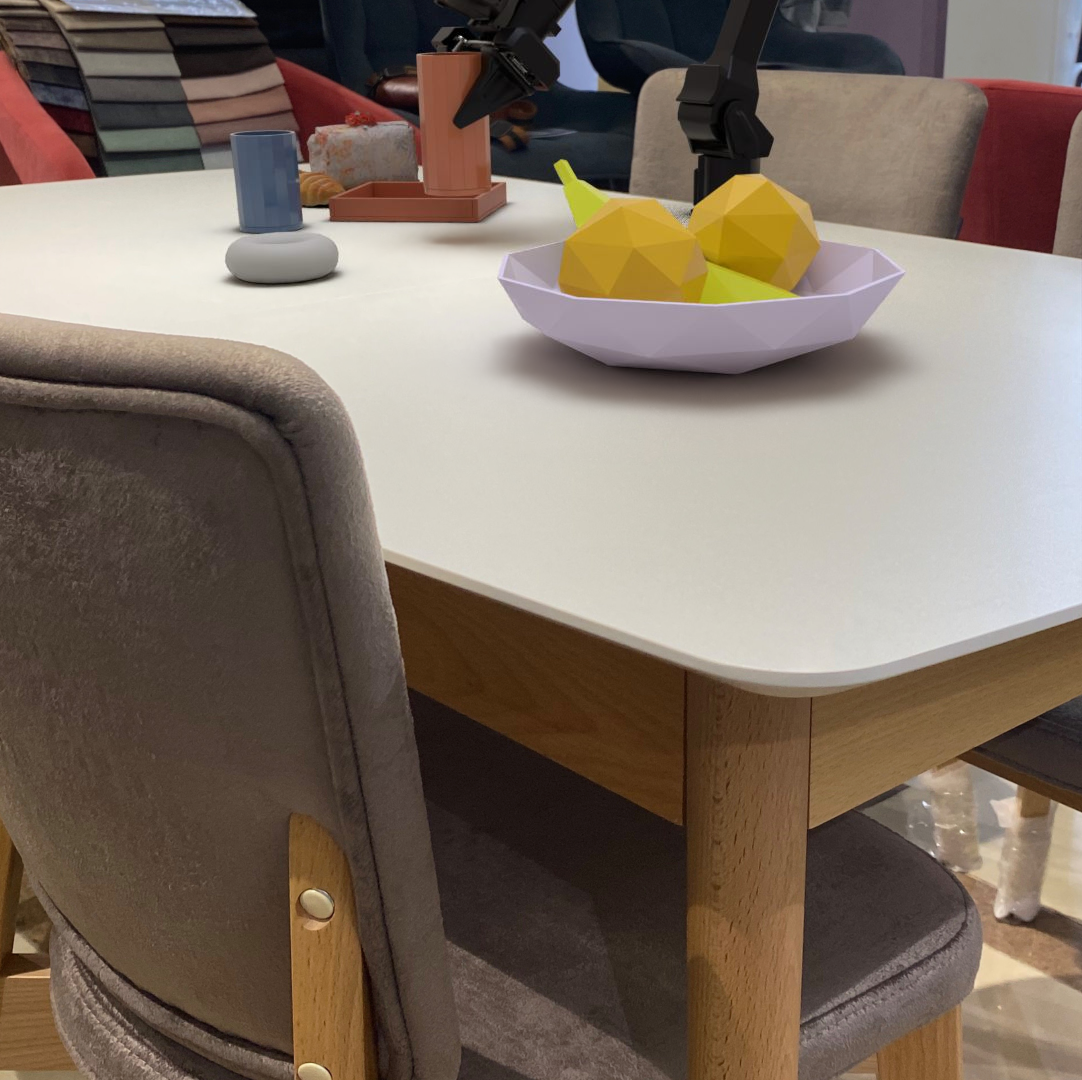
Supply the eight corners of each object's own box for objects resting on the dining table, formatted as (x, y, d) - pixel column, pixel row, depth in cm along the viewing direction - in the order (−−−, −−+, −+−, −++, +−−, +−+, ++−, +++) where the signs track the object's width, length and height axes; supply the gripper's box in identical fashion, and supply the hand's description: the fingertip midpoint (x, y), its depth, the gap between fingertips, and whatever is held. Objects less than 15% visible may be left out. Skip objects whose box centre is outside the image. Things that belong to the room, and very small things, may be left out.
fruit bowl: (977, 377, 80) (998, 188, 76) (558, 421, 73) (555, 217, 69) (775, 292, 105) (783, 146, 101) (448, 319, 98) (441, 164, 94)
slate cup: (315, 225, 143) (308, 131, 140) (274, 235, 138) (265, 136, 134) (269, 222, 147) (260, 129, 143) (226, 231, 141) (216, 135, 137)
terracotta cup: (505, 189, 131) (501, 52, 126) (458, 198, 126) (452, 56, 121) (456, 184, 135) (450, 51, 130) (409, 192, 131) (401, 55, 125)
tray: (506, 203, 157) (506, 182, 156) (478, 222, 143) (477, 199, 143) (370, 202, 160) (369, 181, 159) (329, 220, 147) (328, 198, 146)
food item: (320, 196, 166) (313, 116, 163) (309, 189, 173) (302, 112, 170) (423, 190, 171) (419, 111, 167) (408, 183, 178) (403, 107, 174)
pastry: (361, 203, 159) (358, 171, 158) (315, 210, 155) (312, 177, 153) (316, 197, 165) (313, 166, 164) (271, 204, 161) (267, 172, 160)
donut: (307, 291, 110) (359, 267, 119) (303, 250, 109) (356, 229, 117) (205, 285, 113) (263, 263, 122) (200, 245, 112) (259, 225, 121)
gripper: (444, -59, 131) (349, 62, 131) (527, -70, 116) (420, 66, 115) (517, 23, 138) (426, 138, 137) (604, 22, 122) (503, 152, 122)
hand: (441, 123), depth 128 cm, fingers closed on terracotta cup, 7 cm apart
